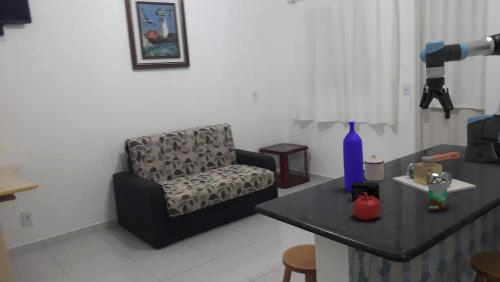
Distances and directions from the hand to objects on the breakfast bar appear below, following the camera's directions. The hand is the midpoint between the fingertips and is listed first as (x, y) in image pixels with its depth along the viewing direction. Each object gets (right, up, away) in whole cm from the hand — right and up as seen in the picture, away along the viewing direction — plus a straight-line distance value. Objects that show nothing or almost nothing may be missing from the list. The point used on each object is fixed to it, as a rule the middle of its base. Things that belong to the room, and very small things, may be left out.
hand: (436, 124), depth 177 cm
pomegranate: (-42, -35, -37) cm, 66 cm away
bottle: (-38, -29, -5) cm, 48 cm away
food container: (-14, -32, -33) cm, 48 cm away
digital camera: (-38, -32, -20) cm, 53 cm away
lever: (-1, -16, -6) cm, 17 cm away
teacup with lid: (-26, -25, +10) cm, 38 cm away
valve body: (-7, -25, -7) cm, 27 cm away
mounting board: (-5, -26, -6) cm, 27 cm away
